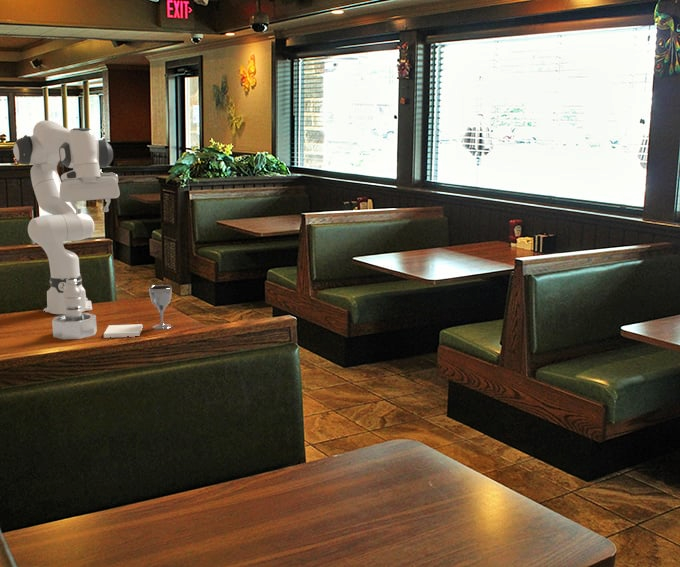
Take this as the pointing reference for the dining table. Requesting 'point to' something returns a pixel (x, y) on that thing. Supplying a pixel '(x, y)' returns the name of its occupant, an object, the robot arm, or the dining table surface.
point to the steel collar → (74, 327)
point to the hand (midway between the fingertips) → (92, 213)
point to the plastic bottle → (72, 300)
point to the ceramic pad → (123, 330)
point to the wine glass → (161, 301)
